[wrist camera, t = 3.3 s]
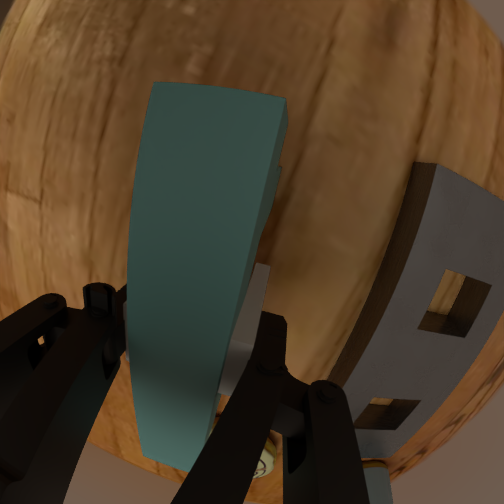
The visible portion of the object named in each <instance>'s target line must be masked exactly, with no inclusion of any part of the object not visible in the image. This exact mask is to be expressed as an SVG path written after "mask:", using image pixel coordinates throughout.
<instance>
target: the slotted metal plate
mask: <svg viewBox="0 0 504 504" xmlns="http://www.w3.org/2000/svg"><path fill="white" fill-rule="evenodd" d="M445 269H448V270H451V271H454V272H457V273H460V274H463V275H466V276H467V277H466V279H465V281H464V283H463V286H462V288H461V290H460V292H459V294H458V296H457V299H456V301H455V303H454V305H453V307H452V309H451V311H450V313H449V314H448V316H446V315H442V314H438V313H433V312H429V311H427V309H428V307H429V305H430V303H431V300H432V298H433V296H434V294H435V292H436V290H437V288H438V285H439V283H440V281H441V279H442V276H443V274H444V272H445ZM503 311H504V201H502V200H501V199H499V198H498V197H496V196H495V195H493V194H491V193H490V192H488V191H487V190H485V189H483V188H482V187H480V186H478V185H476V184H475V183H473V182H471V181H469V180H468V179H466V178H464V177H462V176H460V175H458V174H457V173H455V172H453V171H451V170H449V169H447V168H445V167H443V166H441V165H439V164H435V163H424V162H414V163H413V167H412V171H411V175H410V179H409V182H408V186H407V190H406V193H405V197H404V200H403V203H402V207H401V210H400V213H399V216H398V220H397V223H396V226H395V229H394V232H393V235H392V237H391V240H390V243H389V246H388V249H387V251H386V254H385V257H384V259H383V262H382V265H381V267H380V270H379V272H378V275H377V277H376V280H375V282H374V285H373V287H372V289H371V292H370V294H369V296H368V299H367V301H366V303H365V305H364V308H363V310H362V312H361V314H360V316H359V319H358V321H357V323H356V325H355V327H354V329H353V331H352V333H351V335H350V337H349V339H348V341H347V343H346V345H345V347H344V349H343V351H342V353H341V355H340V357H339V359H338V361H337V362H336V364H335V366H334V368H333V370H332V372H331V373H330V375H329V377H328V379H327V381H331V382H333V383H335V384H337V385H339V386H340V387H341V388H342V389H343V390H344V392H345V394H346V397H347V401H348V404H349V408H350V412H351V417H352V421H353V425H354V429H355V433H356V438H357V442H358V446H359V451H360V455H361V458H387V457H391V456H392V455H393V454H394V453H395V452H396V451H397V450H399V449H400V448H401V447H402V446H403V445H404V444H405V443H406V442H407V441H408V440H409V439H410V438H411V437H412V436H413V435H414V434H415V433H416V432H417V431H418V430H419V429H420V428H421V427H422V426H423V425H424V424H425V423H426V422H427V420H428V419H429V418H430V417H431V416H432V415H433V414H434V413H435V412H436V410H437V409H438V408H439V407H440V406H441V405H442V403H443V402H444V401H445V400H446V399H447V397H448V396H449V395H450V394H451V392H452V391H453V390H454V388H455V387H456V386H457V384H458V383H459V382H460V380H461V379H462V378H463V376H464V375H465V374H466V372H467V371H468V369H469V368H470V366H471V365H472V364H473V362H474V361H475V359H476V358H477V356H478V354H479V353H480V351H481V350H482V348H483V346H484V345H485V343H486V342H487V340H488V338H489V336H490V335H491V333H492V331H493V330H494V328H495V326H496V324H497V322H498V320H499V318H500V317H501V315H502V313H503ZM373 397H379V398H391V399H394V400H393V401H392V403H391V404H390V405H389V406H387V405H373V404H369V402H370V401H371V400H372V398H373Z"/></svg>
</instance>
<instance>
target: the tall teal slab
mask: <svg viewBox="0 0 504 504" xmlns="http://www.w3.org/2000/svg"><path fill="white" fill-rule="evenodd" d="M287 126H288V115H287V104H286V98H282V97H278V96H273V95H268V94H263V93H257V92H252V91H246V90H240V89H233V88H226V87H218V86H210V85H200V84H188V83H173V82H154V83H153V87H152V91H151V95H150V99H149V103H148V108H147V112H146V117H145V122H144V126H143V131H142V137H141V142H140V148H139V154H138V160H137V166H136V173H135V180H134V188H133V196H132V205H131V216H130V227H129V242H128V262H127V328H128V348H129V362H130V373H131V383H132V392H133V400H134V407H135V414H136V421H137V427H138V432H139V438H140V443H141V448H142V453H143V456H145V457H147V458H150V459H152V460H155V461H158V462H160V463H163V464H166V465H168V466H171V467H174V468H177V469H180V470H183V471H186V472H190V470H191V468H192V466H193V465H194V463H195V461H196V459H197V458H198V456H199V454H200V452H201V451H202V449H203V447H204V445H205V443H206V442H207V440H208V438H209V435H210V432H211V429H212V426H213V423H214V419H215V415H216V411H217V407H218V404H219V401H220V397H221V394H220V393H218V390H219V386H220V382H221V377H222V373H223V369H224V365H225V361H226V357H227V352H228V348H229V344H230V340H231V337H232V334H233V331H234V328H235V325H236V322H237V319H238V316H239V314H240V311H241V308H242V305H243V302H244V299H245V296H246V293H247V289H248V285H249V281H250V277H251V272H252V268H253V264H254V260H255V256H256V252H257V248H258V244H259V240H260V236H261V234H262V231H263V229H264V226H265V224H266V221H267V219H268V216H269V214H270V211H271V209H272V205H273V201H274V197H275V193H276V189H277V185H278V181H279V177H280V173H281V169H282V167H279V166H278V163H279V159H280V155H281V151H282V146H283V142H284V138H285V134H286V130H287Z"/></svg>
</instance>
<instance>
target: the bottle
mask: <svg viewBox="0 0 504 504" xmlns="http://www.w3.org/2000/svg"><path fill="white" fill-rule="evenodd" d="M362 465H363V470H364V475H365V480H366V485H367V490H368V495H369V501H370V504H393V499H392V492H391V485H390V478H389V472H388V468H387V466H386V465H385V464H383V463H381V462H378V461H367V462H362Z"/></svg>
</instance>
